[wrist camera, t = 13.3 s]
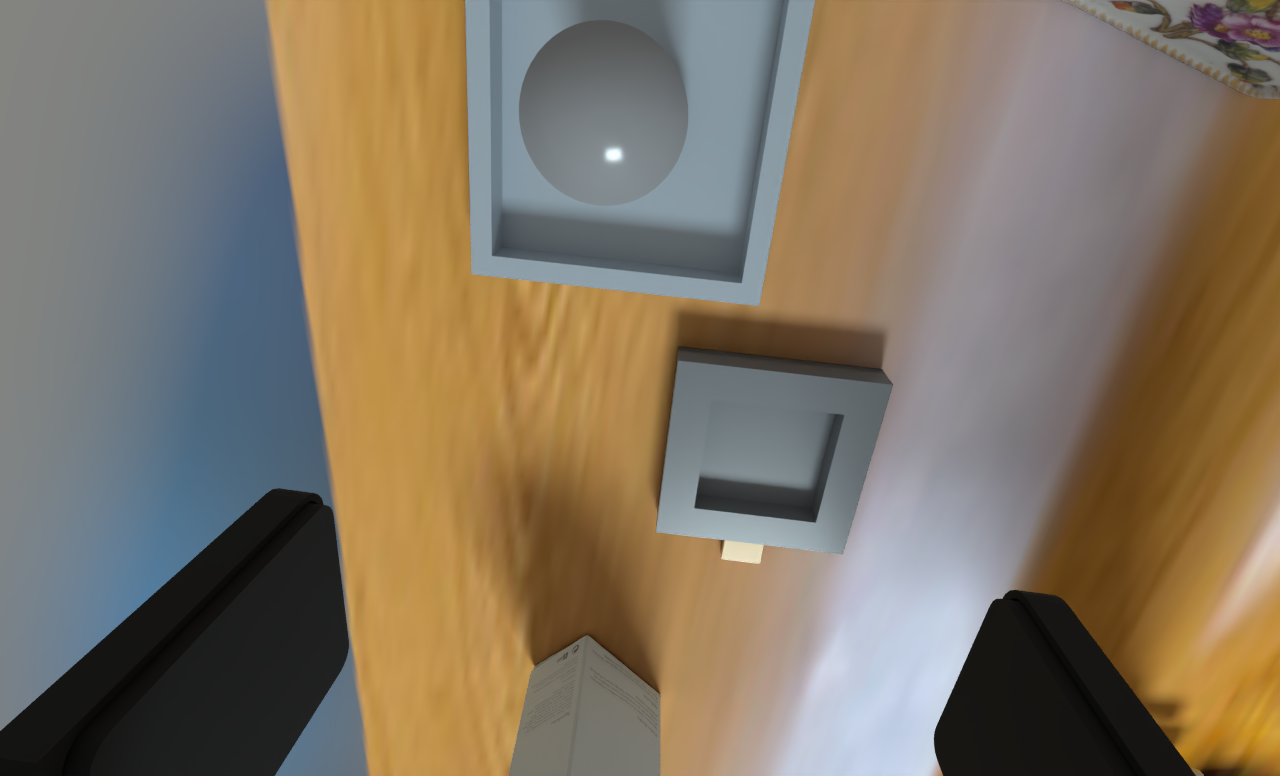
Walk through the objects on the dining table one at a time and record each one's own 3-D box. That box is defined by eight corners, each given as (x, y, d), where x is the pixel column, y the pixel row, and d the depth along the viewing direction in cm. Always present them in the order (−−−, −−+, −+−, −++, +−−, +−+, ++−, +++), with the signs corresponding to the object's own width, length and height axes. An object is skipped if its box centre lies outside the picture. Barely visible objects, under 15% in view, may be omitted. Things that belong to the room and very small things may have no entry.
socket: (881, 369, 34) (893, 384, 32) (826, 564, 39) (833, 586, 37) (678, 346, 34) (678, 360, 32) (653, 543, 40) (651, 565, 38)
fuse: (693, 56, 27) (699, 29, 16) (679, 171, 29) (677, 214, 19) (584, 45, 27) (519, 10, 17) (578, 160, 29) (517, 196, 19)
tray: (821, -89, 25) (834, -107, 23) (754, 291, 32) (759, 305, 30) (481, -121, 26) (461, -143, 23) (486, 261, 32) (471, 274, 30)
